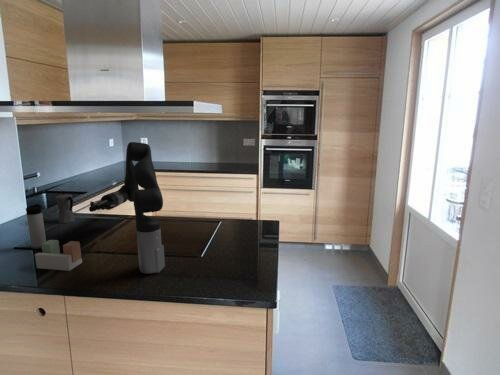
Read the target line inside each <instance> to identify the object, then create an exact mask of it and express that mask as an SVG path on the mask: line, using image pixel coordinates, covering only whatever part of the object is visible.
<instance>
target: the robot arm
mask: <svg viewBox="0 0 500 375" xmlns="http://www.w3.org/2000/svg"><path fill="white" fill-rule="evenodd" d="M125 151H126V154H125V176H124V181H123V185H121V186H120V188H119V189H118V190H116V191H112V192H110V193H106V194H105V195H102V197H100V199H99V200H97V201H96V202H94V201H90V202H89V204H90V206H89V207H88V211H89V212H91V213H94V212H95V211H100V210H101V211H104V210H106V211H108V210H109V211H111V210H113V209H115V208H117V207H119V206H121V205H122V204H125V203H127V201H128V202H130V203H132V202H133V208H134V216H135V225H136V226H135V227H136V228H135V229H136V242H137V256H138V267H139V271H140V273H143V274H147V275H148V274H157V273H160V272H161V271H162V270H163V269H164V268H165V267H166V261H165V247H164V244H162V233H161V232H162V230H161V222H160V220H159V219H157V218H155V217H149V216H147V215H146V214H148V213H157V212H159V211H161V210H162V209H163V207H164V200H163V199H164V198H163V194H162V191H161V189H160V186H159V184H158V180H157V175H156V174H157V173H156V171H155V166H154V163H153V160H152V150H151V146H150V144H148V143H145V142H137V141H130V142H129V143H128V144H127V146H126V150H125ZM134 162H137V163H135V164H134ZM139 187H141V188H142V189H140V188H139Z"/></svg>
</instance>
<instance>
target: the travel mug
mask: <svg viewBox="0 0 500 375" xmlns="http://www.w3.org/2000/svg"><path fill="white" fill-rule="evenodd" d="M25 211H26V213H25V214H26V221H27V227H28V233H29V240H30V247H31V249H33V250H38V249H42V246H41V244H42V243H44V242H46V241H47V238H46V231H45V223H44V216H43V210H42V205H40V204H39V203H37V204H36V203H35V204H34V205H29V206H27V207H26V208H25Z"/></svg>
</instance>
